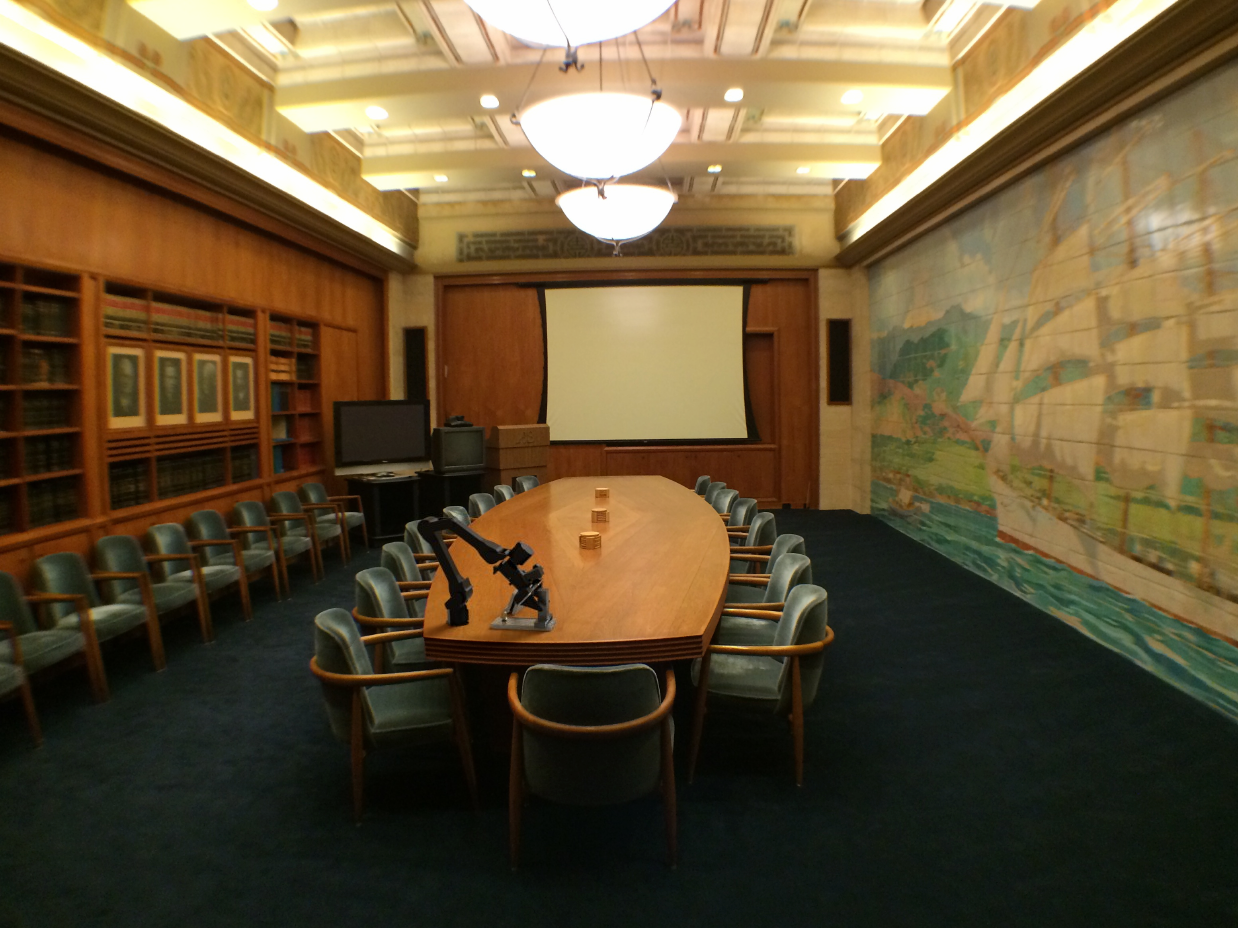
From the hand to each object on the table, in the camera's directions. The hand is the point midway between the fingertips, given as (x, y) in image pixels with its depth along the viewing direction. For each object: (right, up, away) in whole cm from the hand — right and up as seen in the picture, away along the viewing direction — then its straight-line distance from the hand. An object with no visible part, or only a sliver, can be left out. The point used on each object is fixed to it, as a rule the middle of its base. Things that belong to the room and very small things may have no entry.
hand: (545, 606), depth 237 cm
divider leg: (-1, -7, +1) cm, 7 cm away
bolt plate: (-8, -7, +2) cm, 11 cm away
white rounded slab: (-12, -5, +22) cm, 26 cm away
